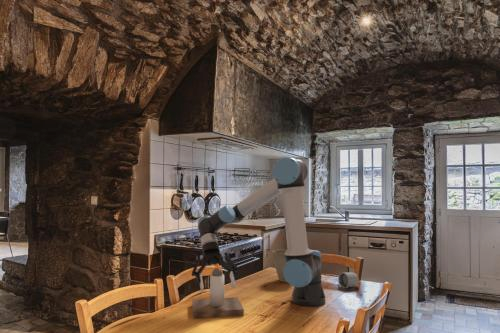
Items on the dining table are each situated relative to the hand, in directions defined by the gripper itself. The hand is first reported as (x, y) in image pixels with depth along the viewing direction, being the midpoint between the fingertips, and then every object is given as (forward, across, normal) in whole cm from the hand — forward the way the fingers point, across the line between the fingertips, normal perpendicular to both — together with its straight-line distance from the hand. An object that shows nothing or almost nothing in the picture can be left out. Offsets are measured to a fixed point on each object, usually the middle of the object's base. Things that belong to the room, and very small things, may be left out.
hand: (218, 288), depth 148 cm
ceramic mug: (-3, -73, -17) cm, 75 cm away
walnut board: (+5, 0, -8) cm, 10 cm away
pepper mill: (+4, 0, -7) cm, 8 cm away
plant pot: (-18, -48, -32) cm, 61 cm away
